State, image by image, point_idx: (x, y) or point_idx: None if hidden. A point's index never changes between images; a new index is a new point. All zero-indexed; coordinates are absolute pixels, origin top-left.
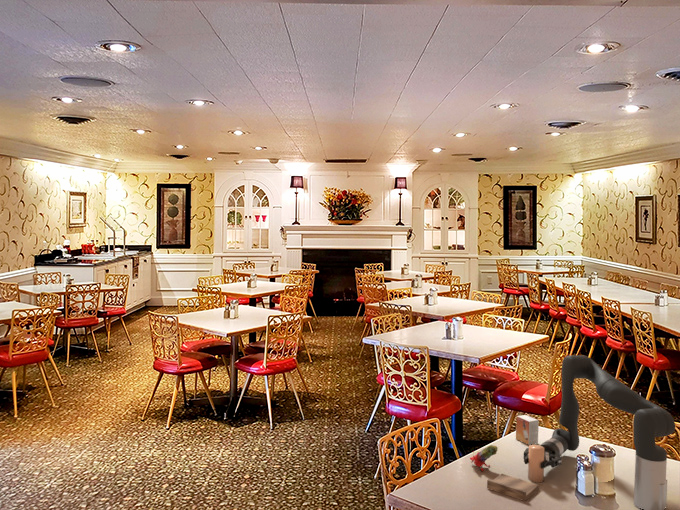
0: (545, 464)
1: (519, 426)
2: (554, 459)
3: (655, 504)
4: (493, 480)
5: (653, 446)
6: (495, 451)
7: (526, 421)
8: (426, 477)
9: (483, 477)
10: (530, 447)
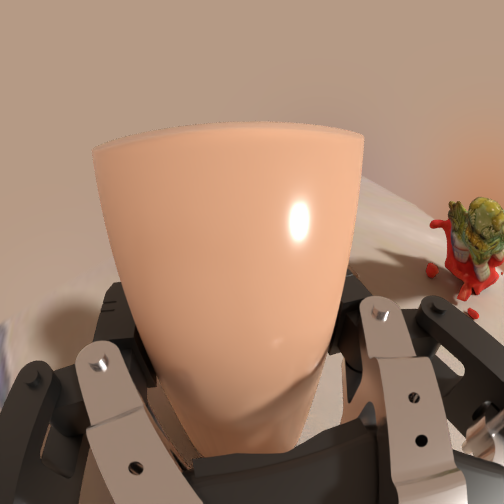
0: (107, 294)
1: None
2: (19, 422)
3: None
4: None
5: None
6: (470, 224)
7: None
8: (398, 197)
9: (375, 254)
10: (278, 122)
